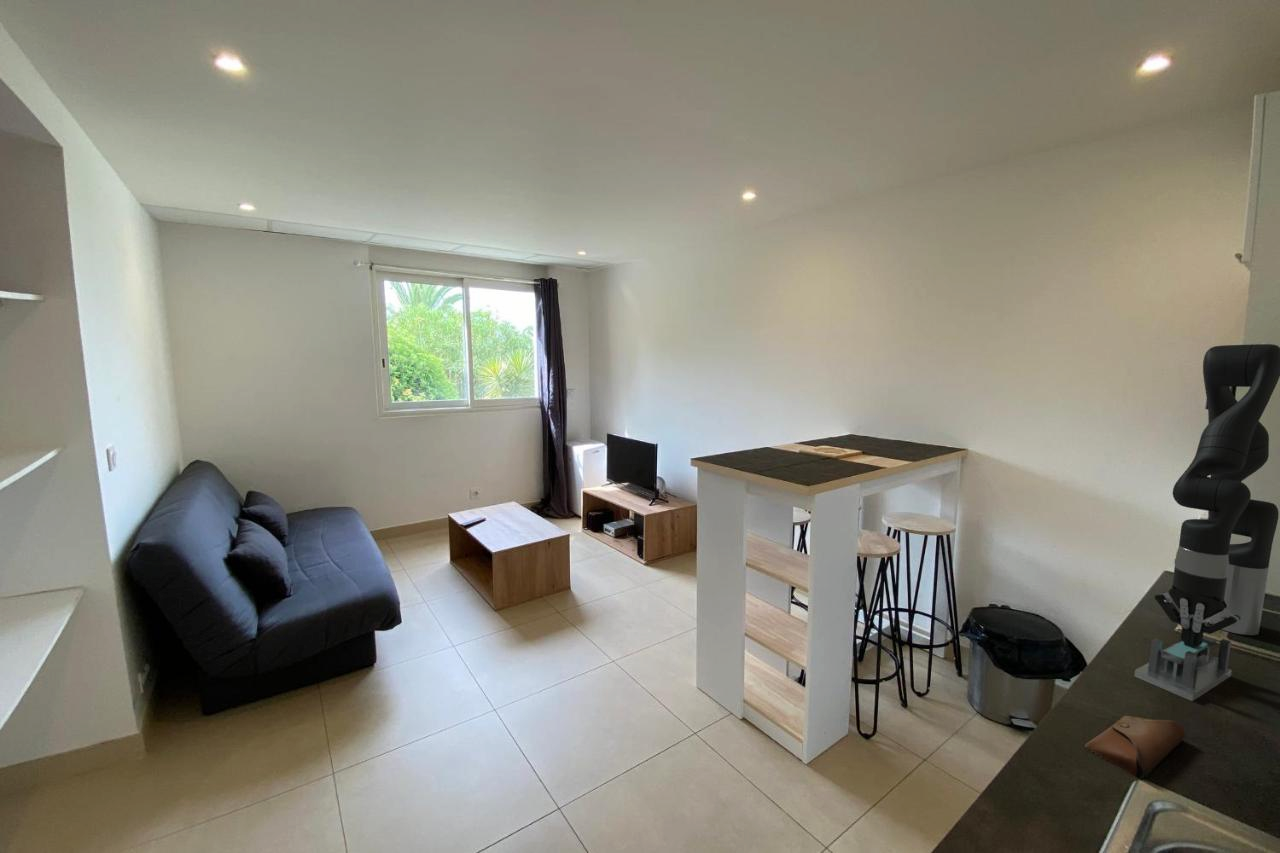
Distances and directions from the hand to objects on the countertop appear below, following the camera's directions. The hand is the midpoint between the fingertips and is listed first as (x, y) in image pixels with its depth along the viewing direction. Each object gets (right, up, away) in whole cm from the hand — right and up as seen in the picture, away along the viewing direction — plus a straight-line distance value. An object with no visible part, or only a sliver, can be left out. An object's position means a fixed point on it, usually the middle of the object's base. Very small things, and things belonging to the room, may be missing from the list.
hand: (1190, 645), depth 110 cm
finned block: (-2, -7, 0) cm, 7 cm away
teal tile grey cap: (-2, -1, -1) cm, 2 cm away
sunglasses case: (-30, -11, -19) cm, 37 cm away
